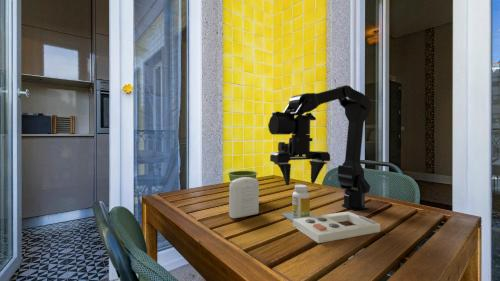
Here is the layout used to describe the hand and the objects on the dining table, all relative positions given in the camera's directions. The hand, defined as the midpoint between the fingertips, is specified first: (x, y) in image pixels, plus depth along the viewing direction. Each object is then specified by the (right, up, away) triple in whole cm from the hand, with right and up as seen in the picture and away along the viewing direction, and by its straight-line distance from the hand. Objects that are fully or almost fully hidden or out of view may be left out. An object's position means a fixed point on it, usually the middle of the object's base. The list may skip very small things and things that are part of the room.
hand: (300, 184), depth 79 cm
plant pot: (-19, -10, +19) cm, 29 cm away
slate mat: (0, -11, 0) cm, 11 cm away
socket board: (+8, -11, -9) cm, 16 cm away
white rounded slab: (-18, -11, +3) cm, 21 cm away
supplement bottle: (0, -10, 0) cm, 10 cm away
